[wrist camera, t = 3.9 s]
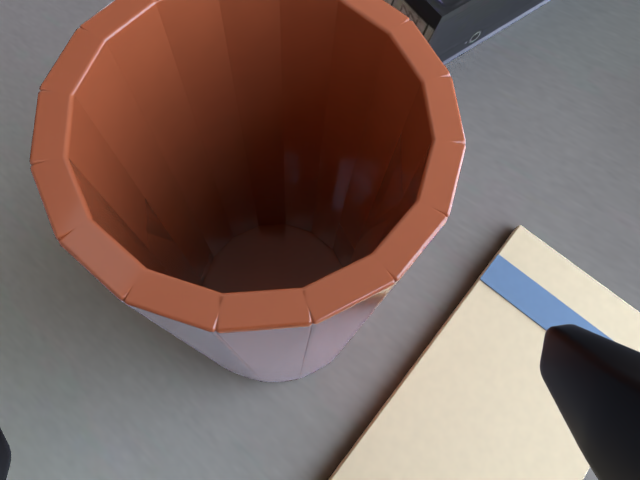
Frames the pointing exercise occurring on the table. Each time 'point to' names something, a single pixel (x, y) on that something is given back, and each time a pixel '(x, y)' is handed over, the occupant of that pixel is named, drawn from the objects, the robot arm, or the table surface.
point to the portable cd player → (462, 21)
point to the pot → (249, 167)
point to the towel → (492, 378)
